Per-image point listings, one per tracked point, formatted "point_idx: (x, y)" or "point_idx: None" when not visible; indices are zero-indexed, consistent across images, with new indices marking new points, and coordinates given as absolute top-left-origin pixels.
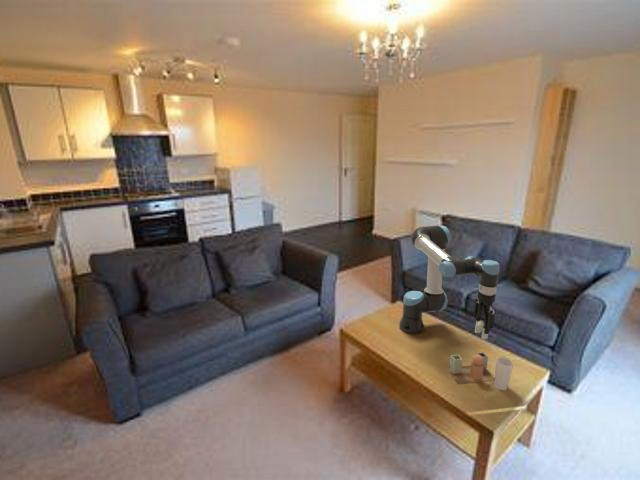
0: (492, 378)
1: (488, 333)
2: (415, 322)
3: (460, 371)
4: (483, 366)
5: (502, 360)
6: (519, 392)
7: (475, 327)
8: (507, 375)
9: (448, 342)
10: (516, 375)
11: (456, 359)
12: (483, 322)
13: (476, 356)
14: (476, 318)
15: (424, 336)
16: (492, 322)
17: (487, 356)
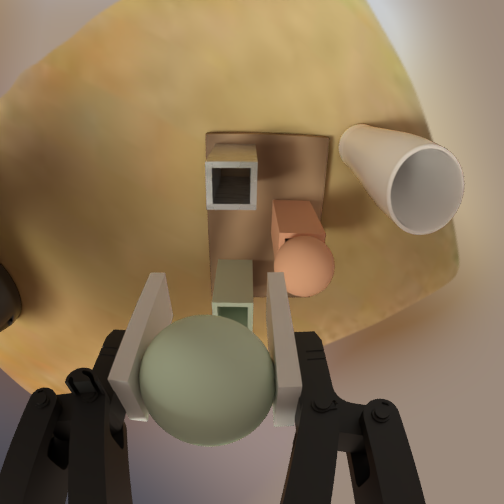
0: (312, 150)
1: (318, 336)
2: None
3: (252, 266)
4: (324, 233)
5: (385, 165)
6: (395, 90)
7: None
8: (429, 177)
9: (40, 199)
10: (298, 18)
11: (249, 326)
12: (224, 440)
13: (309, 294)
14: (117, 440)
15: (22, 269)
16: (411, 496)
17: (250, 161)
